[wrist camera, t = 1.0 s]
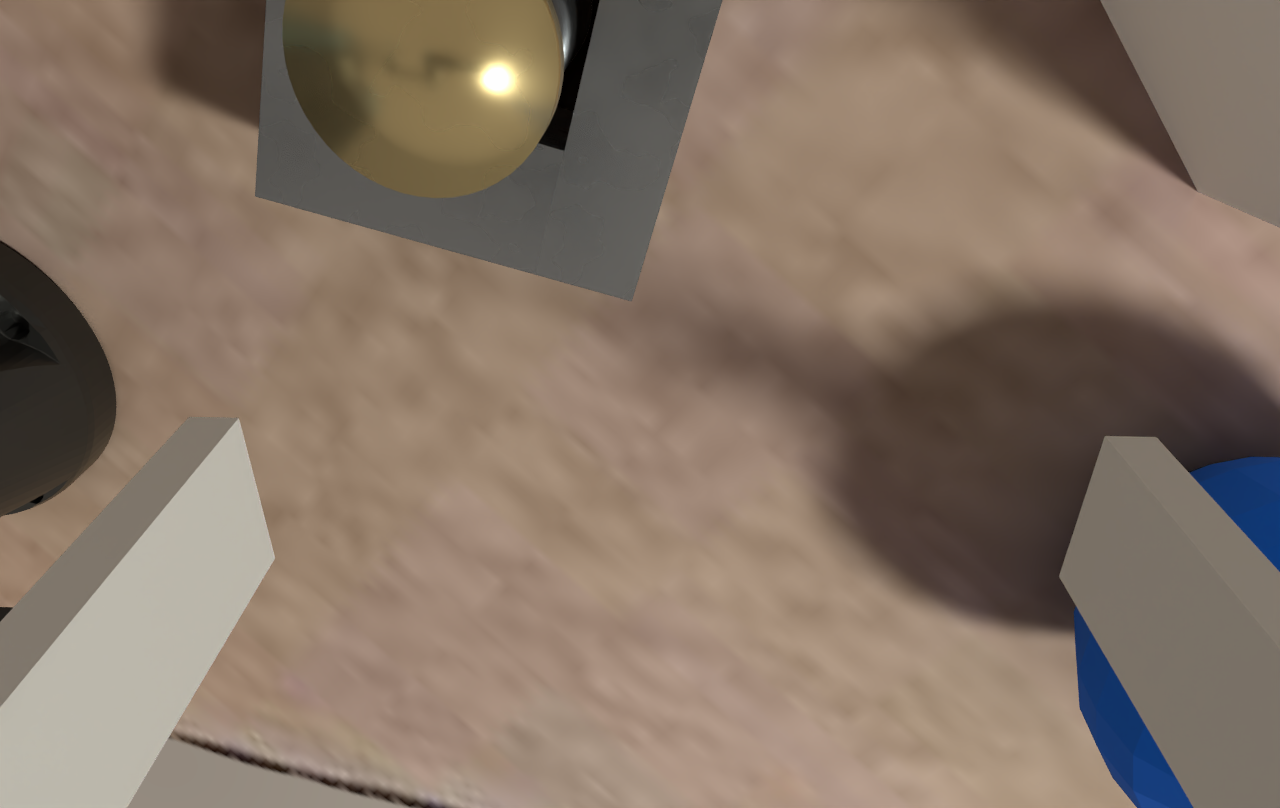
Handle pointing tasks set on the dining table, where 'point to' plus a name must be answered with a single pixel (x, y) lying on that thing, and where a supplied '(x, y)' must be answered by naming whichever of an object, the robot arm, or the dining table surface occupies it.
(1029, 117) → the dining table surface
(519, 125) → the grey and gold cylinder
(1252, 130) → the milk
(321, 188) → the housing
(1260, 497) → the vase
